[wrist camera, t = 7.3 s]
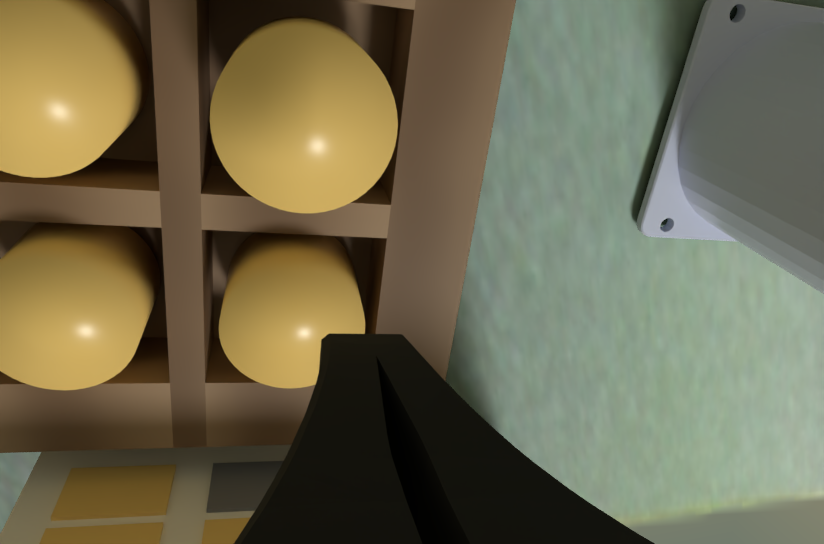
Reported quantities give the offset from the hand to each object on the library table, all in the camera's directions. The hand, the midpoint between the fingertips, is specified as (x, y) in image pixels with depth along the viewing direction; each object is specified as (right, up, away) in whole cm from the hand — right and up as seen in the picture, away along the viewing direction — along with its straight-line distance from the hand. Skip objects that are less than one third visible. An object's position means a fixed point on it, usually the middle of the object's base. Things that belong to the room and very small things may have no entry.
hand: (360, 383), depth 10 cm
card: (-7, -4, +12) cm, 15 cm away
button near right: (-2, +6, +6) cm, 9 cm away
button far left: (-9, +2, +8) cm, 12 cm away
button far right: (-3, +2, +9) cm, 10 cm away
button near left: (-8, +7, +5) cm, 12 cm away
